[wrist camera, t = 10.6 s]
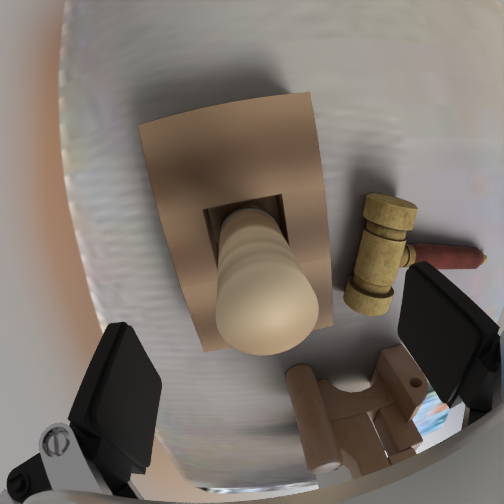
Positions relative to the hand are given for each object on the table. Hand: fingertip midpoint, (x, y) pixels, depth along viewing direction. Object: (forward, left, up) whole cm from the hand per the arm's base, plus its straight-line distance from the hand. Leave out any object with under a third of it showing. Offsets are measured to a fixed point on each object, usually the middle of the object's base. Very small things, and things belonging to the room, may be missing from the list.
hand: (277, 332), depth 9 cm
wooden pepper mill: (+1, 0, -14) cm, 14 cm away
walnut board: (+1, 0, -15) cm, 15 cm away
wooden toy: (+22, +8, -15) cm, 28 cm away
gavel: (+7, +19, -15) cm, 25 cm away
